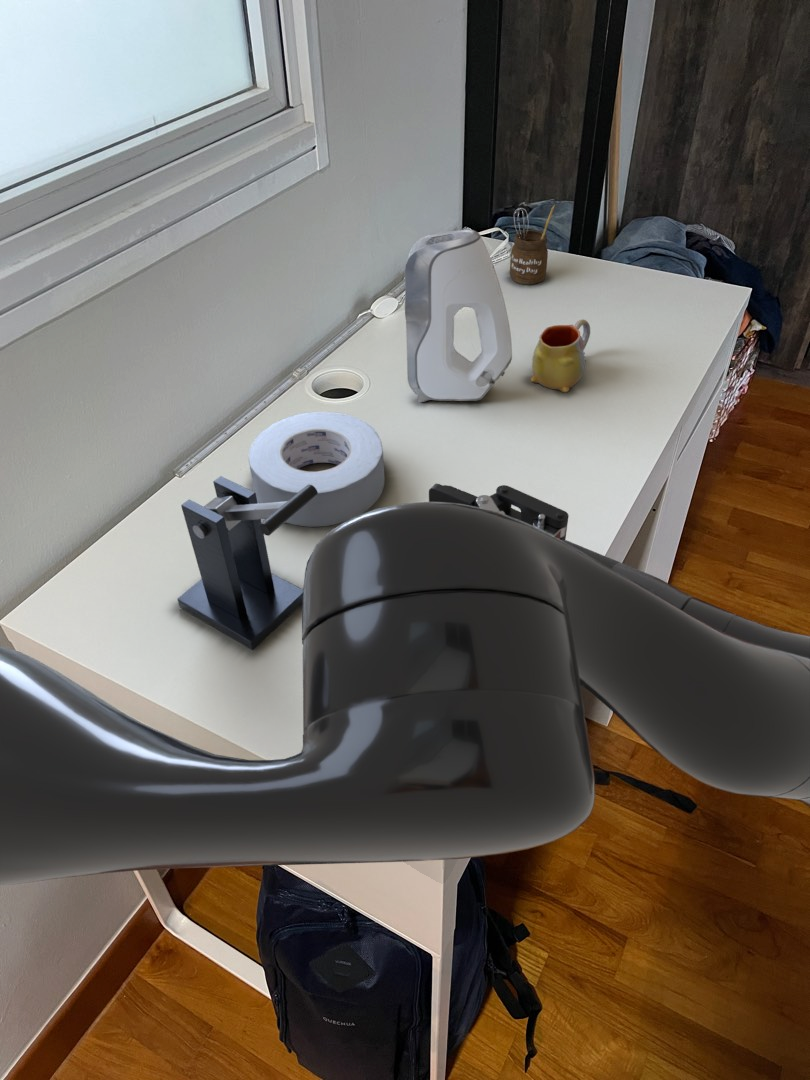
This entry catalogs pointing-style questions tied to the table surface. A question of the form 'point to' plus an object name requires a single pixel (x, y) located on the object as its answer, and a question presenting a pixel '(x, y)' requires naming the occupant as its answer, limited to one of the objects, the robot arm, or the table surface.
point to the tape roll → (315, 442)
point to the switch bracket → (235, 573)
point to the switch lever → (261, 510)
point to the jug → (430, 306)
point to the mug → (560, 356)
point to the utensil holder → (529, 255)
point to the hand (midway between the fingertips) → (398, 526)
